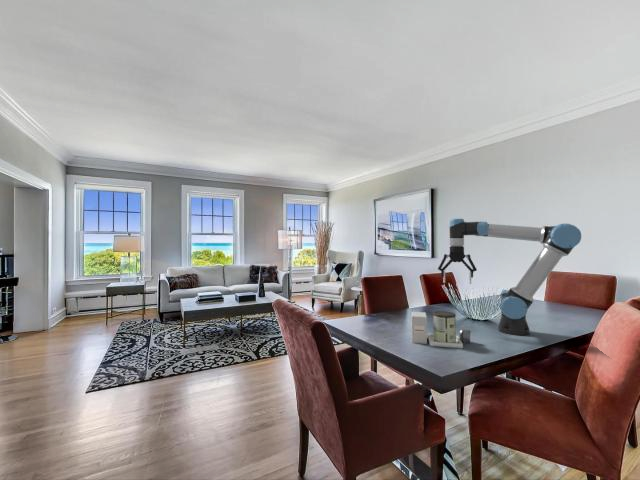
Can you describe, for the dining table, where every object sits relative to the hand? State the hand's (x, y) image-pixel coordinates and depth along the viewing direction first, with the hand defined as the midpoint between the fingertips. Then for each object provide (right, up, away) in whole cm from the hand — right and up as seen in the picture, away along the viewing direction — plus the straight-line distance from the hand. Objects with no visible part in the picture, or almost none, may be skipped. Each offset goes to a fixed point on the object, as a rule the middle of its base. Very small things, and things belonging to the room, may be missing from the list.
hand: (457, 283), depth 179 cm
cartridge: (-6, -26, -23) cm, 35 cm away
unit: (-28, -26, -19) cm, 43 cm away
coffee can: (-16, -26, -23) cm, 39 cm away
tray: (-16, -26, -23) cm, 39 cm away
